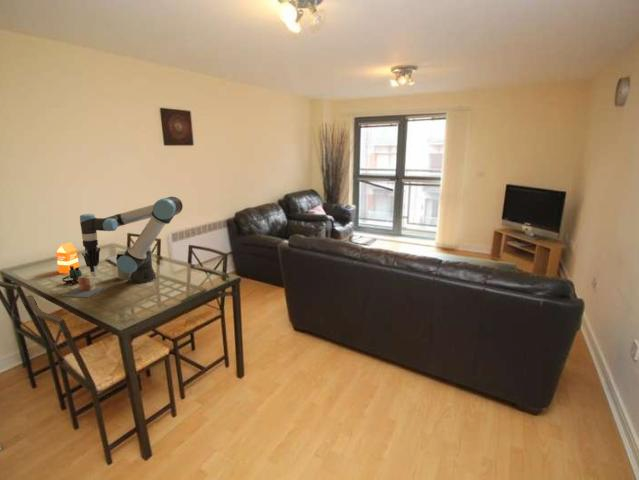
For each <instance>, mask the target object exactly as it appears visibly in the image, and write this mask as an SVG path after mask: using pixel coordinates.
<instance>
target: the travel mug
mask: <svg viewBox="0 0 639 480" xmlns="http://www.w3.org/2000/svg"><path fill="white" fill-rule="evenodd" d="M125 252H126V250H120V251H117V252H115V253H116V255H117V257H116V260H118V259H119V257H121V256H123V255H124V253H125ZM116 268H117V276H118V280H128V279H130V277H131V273H124V272H122V271H121V270H120V269H119V268H118V265H116Z"/></svg>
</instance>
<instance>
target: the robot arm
mask: <svg viewBox="0 0 639 480" xmlns="http://www.w3.org/2000/svg"><path fill="white" fill-rule="evenodd" d="M183 205H184V204H183V202H182V200H181V199H180V198H178V197H176V196H168V197H164V198H160V199H158V200H157V201H156V202H155V203H154V204H151V205H147V206H143V207H139V208H136V209H133V210H129V211H125V212H121V213H117V214H114V215H111V216H107V217H104V218H103V217H99V218H98V217H96V216H95V214H92V213H84V214H80V216H79V223H80V230H81V236H82V237H81V238H82V246H83V247H84V252H81V255H82V256H83V259H84V262H85V265H86V267H89V270H90V271H89V272H90V276H94V278H95V277H98V270H97V269H98V268H97V267H98V266H99V264H100V253H101V252H100V251H101V248H100V247H98V245H99V243H98V242H99V241H98V232H97V231H102V232H103V231H104V232H115V231H116V230H117V229H118V227H122V226H125V225H128V224H133V223H137V222H139V221H143V220H148V219H149V221H148V222H147V223H146V224H145V227H144V228H143V230H142V231H141V233H140V234H139V236H138V237H137V239H136V240H135V241H134V243H133V244H132V246H130V247H127V249H126V250H125V251H126V252H125V253H124V255H123V256H121V257H119V259H118V260H117V265H118V268H119V269H120V270H121V271H122V272H124V273H131V277H130V278H129V279H130V282H131V283H135V284H143V283H144V282H145V283H149V282H148V281H150V282H152V281H151V280H153V279H155V278H156V279H157V277H156V276H157V275H156V272H155V270H154V268H153V261H152V260H153V259H152V250H151V249H152V248H151V247H152V245H153V243H154V242H155V240H156V239H157V237H159V234H160V233H161V232H162V230H163V228H164V227H165V226H166V225H169V224H170V223H171V222H172V220H173V218H174V217H175V216H176V215H179V214H180V213H181V212H182V211H183V208H184V207H183ZM117 265H116V266H117ZM156 279H155V280H156ZM153 281H154V280H153ZM145 283H144V284H145Z"/></svg>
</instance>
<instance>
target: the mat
mask: <svg viewBox="0 0 639 480" xmlns="http://www.w3.org/2000/svg"><path fill="white" fill-rule="evenodd" d="M104 290H105V287H96V286H95V289H93V290H91V291H90V290H80V289H79V286H77V287H75V288H73V289H72V290H69V291H67V292H66V293H63V294H61V295H60V297H61V298H64V297H66V298H78V297H85V299H88V298H91V297H93V296H94V295H96V294H98V293H99V292H102V291H104ZM92 295H93V296H92Z"/></svg>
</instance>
